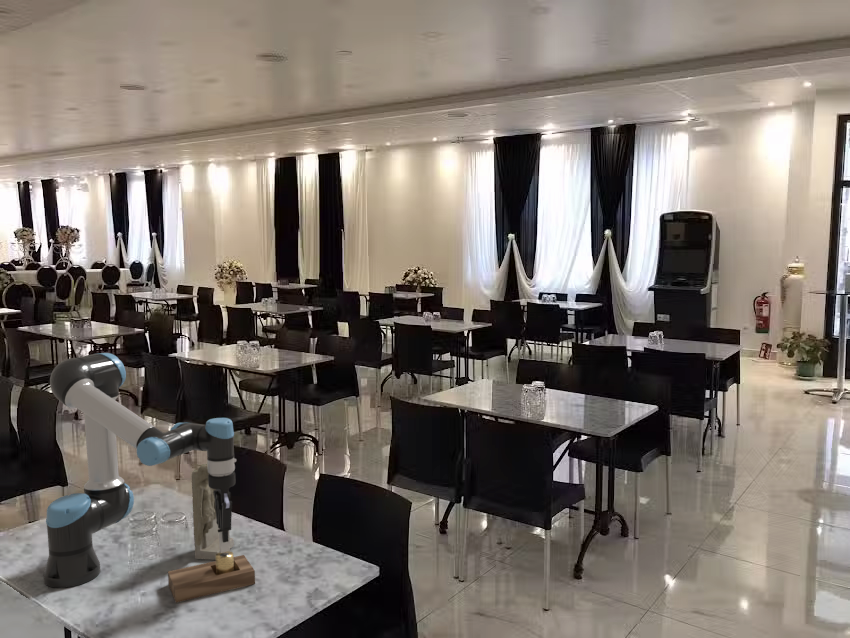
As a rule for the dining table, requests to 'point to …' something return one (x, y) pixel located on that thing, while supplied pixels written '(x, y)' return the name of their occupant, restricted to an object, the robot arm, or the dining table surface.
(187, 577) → the block
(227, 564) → the bushing
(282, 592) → the dining table surface
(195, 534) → the sculpture
